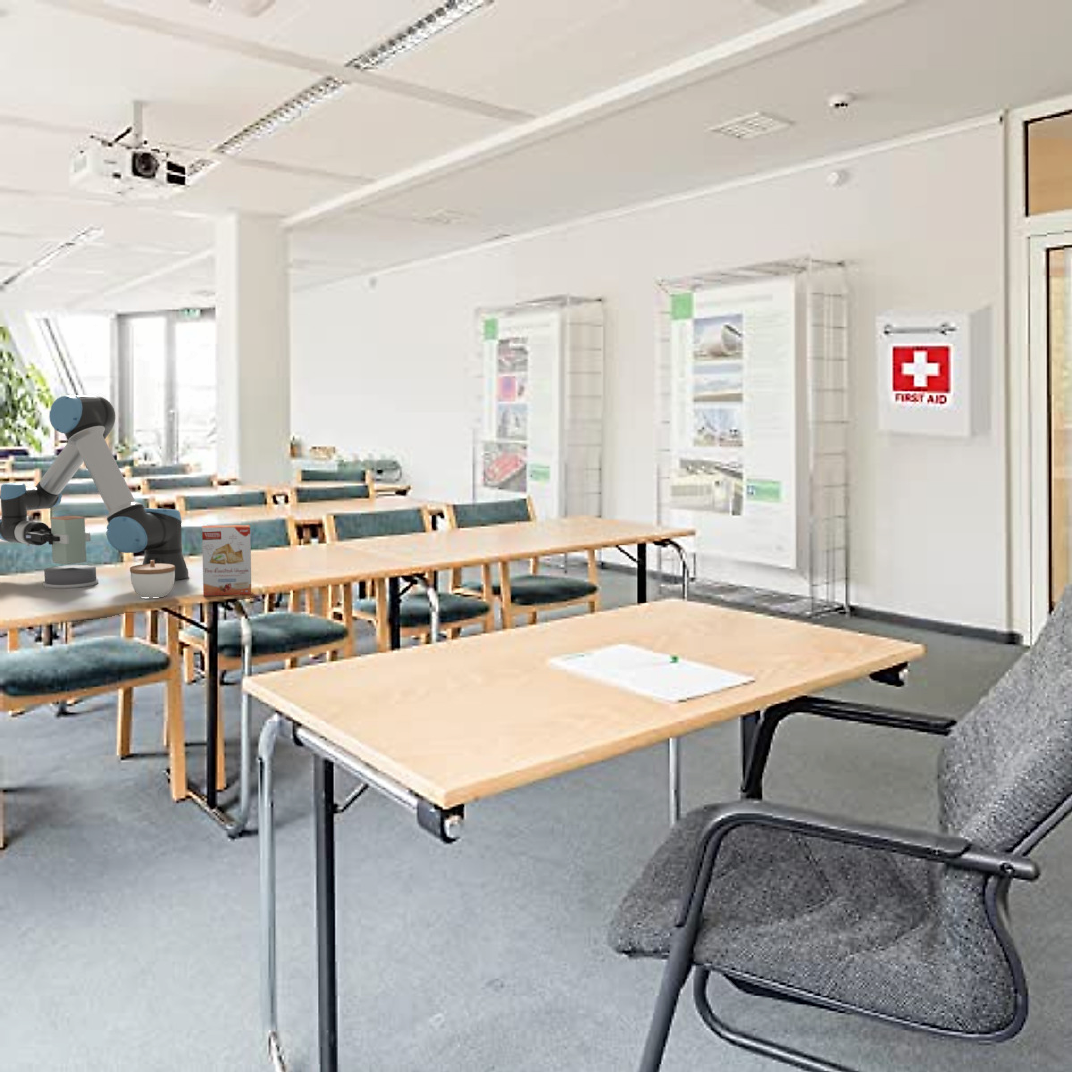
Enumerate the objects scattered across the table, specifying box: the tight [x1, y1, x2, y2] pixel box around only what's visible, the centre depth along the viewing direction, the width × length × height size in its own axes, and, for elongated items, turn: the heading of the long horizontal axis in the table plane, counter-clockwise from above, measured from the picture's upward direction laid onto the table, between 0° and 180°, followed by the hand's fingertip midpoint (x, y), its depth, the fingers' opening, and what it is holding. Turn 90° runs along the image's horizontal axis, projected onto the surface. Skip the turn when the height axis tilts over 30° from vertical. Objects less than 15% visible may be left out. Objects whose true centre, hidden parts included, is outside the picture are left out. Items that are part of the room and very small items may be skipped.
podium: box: [42, 564, 99, 589], centre depth 332 cm, size 16×16×5 cm
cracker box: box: [201, 524, 252, 597], centre depth 315 cm, size 14×6×21 cm, turn 105°
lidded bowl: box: [129, 560, 176, 598], centre depth 310 cm, size 13×13×11 cm
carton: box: [50, 515, 87, 566], centre depth 330 cm, size 7×7×14 cm
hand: (78, 538), depth 328 cm, fingers closed on carton, 7 cm apart
